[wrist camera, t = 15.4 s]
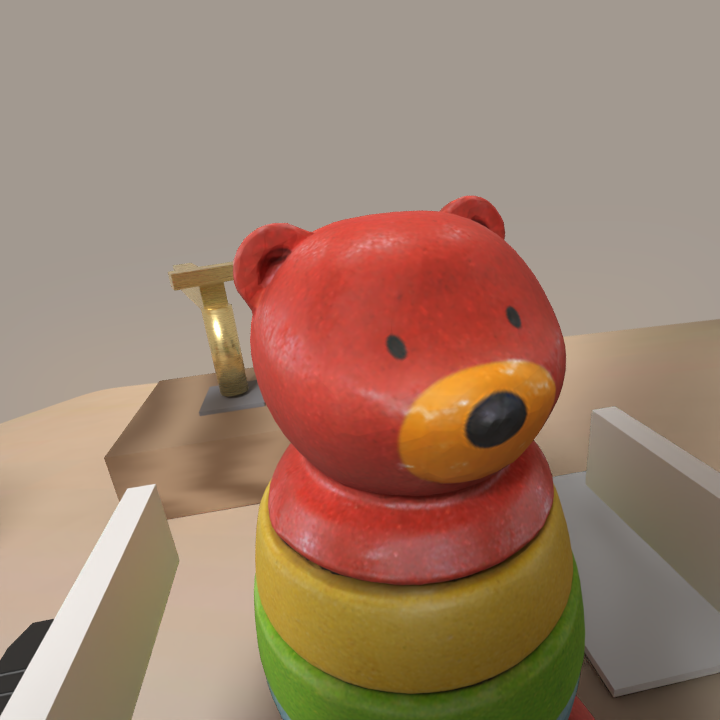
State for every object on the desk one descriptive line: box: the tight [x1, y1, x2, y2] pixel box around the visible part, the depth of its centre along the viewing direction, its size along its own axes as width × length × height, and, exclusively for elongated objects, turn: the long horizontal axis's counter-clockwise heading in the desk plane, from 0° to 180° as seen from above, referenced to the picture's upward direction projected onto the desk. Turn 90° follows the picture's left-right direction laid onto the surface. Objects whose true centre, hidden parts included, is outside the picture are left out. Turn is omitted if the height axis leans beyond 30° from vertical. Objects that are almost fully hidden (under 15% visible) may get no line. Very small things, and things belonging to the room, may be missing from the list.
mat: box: [553, 471, 720, 697], centre depth 22 cm, size 12×12×1 cm
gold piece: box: [168, 262, 249, 396], centre depth 36 cm, size 15×5×9 cm, turn 28°
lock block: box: [104, 367, 291, 519], centre depth 33 cm, size 14×12×5 cm
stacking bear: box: [233, 196, 595, 720], centre depth 13 cm, size 11×10×18 cm
